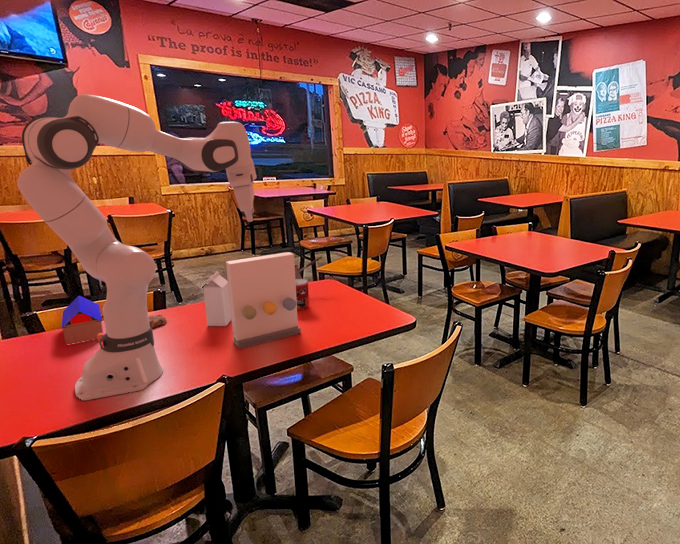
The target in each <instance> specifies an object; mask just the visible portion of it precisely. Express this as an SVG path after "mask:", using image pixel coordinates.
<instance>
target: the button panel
mask: <svg viewBox="0 0 680 544" xmlns="http://www.w3.org/2000/svg"><path fill="white" fill-rule="evenodd" d="M225 265H226V266H225V267H226V276H227V281H228V288H229V298H230V308H231V318H232V320H231V325H232V337H233V343H234V344H235V346H236V347H237V348H238V349H240V350H241V349H244V348H248V347H253V346H255V345H256V346H257V345H259V344H263V343H264V344H265V343H268V342H272V341H276V340H280V339H284V338H287V337H292V336H295V334H296V335H299V334H298V333H300V334H301V333H302V332H301V331H302V330H301V329H302V328H301V327H300V326H299V321H298V311H297V299H296V282H295V265H296V264H295V254H294V253H292V252H289V251H288V252H281V253H275V254H268V255H260V256H256V257H255V256H254V257H248V258H247V257H246V258H241V259H235V260H234V259H233V260H228V261H225ZM288 297H290V298H292V299H294V300H295V301H296V307H295V308H294V309H293V310H291V311H289V310H287V309H285V308H284V307H283V301H284V300H285V299H286V298H288ZM269 301H270V302H273V303H274V304H275V305H276V306H277V310H276V312H275V313H274V314H272V315H268V314H267V313H265V312H264V310H263V306H264V304H265V303H266V302H269ZM246 306H252V307H253V308H254V309H255V310H256V316H255V317H254V318H253V319H246V318H245V317H244V316H243V314H242V311H243V309H244V308H245V307H246Z"/></svg>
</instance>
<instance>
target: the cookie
mask: <svg viewBox="0 0 680 544" xmlns="http://www.w3.org/2000/svg"><path fill="white" fill-rule="evenodd" d="M148 317H149V324H150V326H151V328H152V329H154V328H155V327H156V328H157V327H159V326H163V325H165V324H166V323H167V322H168V321H167V318H166V317H164V316H163V315H162V314H155V315H150V316H149V315H148Z"/></svg>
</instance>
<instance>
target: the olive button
mask: <svg viewBox="0 0 680 544" xmlns="http://www.w3.org/2000/svg"><path fill="white" fill-rule="evenodd" d="M242 314H243V316H244V317H245V318H246V319H253V318H254V317H255V316H256V310H255V309H254V308H253V307H252V306H246V307H245V308H244V309H243V311H242Z"/></svg>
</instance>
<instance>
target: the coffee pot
mask: <svg viewBox="0 0 680 544" xmlns="http://www.w3.org/2000/svg"><path fill="white" fill-rule="evenodd" d="M319 260H322V261H323V257H322V256H319V257H317V258H316V259H314V260H312V261H310V262H309V263H308V264H306V265H305V266H304V267H302V268H301V269H299V268H300V265H298V264H295V279H303V278H302V276H301V274H300V273H301V272H302V271H304V270H305V269H306V268H307V269H308V268H309V267H310V266H312V265H314V264H315V263H317V261H319Z"/></svg>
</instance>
